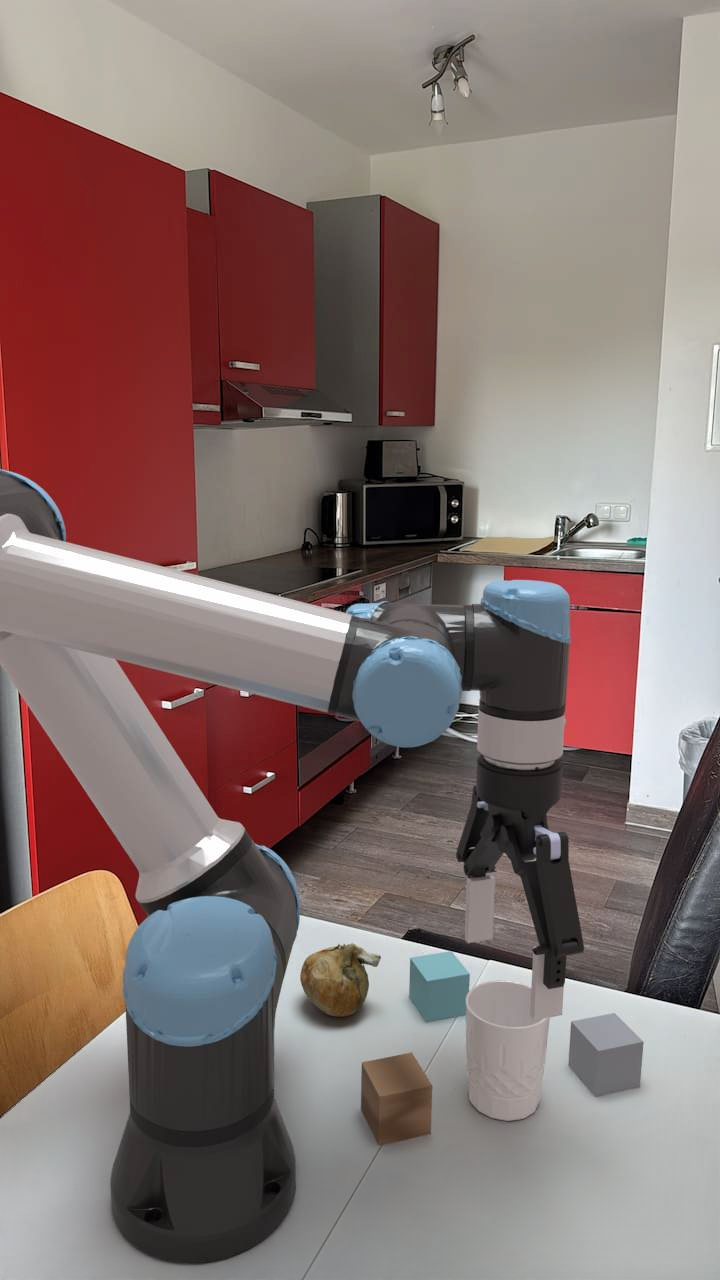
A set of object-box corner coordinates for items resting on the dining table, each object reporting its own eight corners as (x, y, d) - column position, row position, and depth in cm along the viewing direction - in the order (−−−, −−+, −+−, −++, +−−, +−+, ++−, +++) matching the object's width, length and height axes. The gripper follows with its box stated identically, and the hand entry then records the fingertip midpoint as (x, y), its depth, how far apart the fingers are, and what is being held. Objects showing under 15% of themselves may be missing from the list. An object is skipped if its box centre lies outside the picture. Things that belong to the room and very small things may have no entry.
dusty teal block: (425, 1023, 103) (427, 981, 102) (409, 998, 108) (410, 957, 107) (468, 1015, 105) (469, 973, 104) (449, 991, 109) (451, 951, 108)
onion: (343, 980, 111) (344, 917, 109) (384, 1013, 105) (386, 947, 103) (287, 1001, 107) (287, 935, 105) (327, 1037, 100) (327, 968, 99)
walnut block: (378, 1146, 85) (379, 1096, 84) (360, 1109, 89) (361, 1062, 88) (430, 1134, 86) (432, 1085, 85) (410, 1099, 91) (411, 1052, 90)
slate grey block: (595, 1097, 92) (598, 1051, 91) (568, 1066, 96) (571, 1021, 95) (639, 1087, 93) (643, 1041, 92) (611, 1057, 98) (614, 1012, 97)
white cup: (551, 1127, 87) (557, 1029, 85) (465, 1125, 88) (469, 1026, 86) (537, 1072, 95) (543, 981, 93) (458, 1070, 95) (462, 979, 93)
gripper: (638, 800, 74) (620, 1045, 78) (495, 715, 97) (487, 908, 102) (552, 810, 72) (539, 1063, 76) (427, 721, 95) (422, 918, 99)
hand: (509, 975), depth 89 cm, fingers open, 13 cm apart
